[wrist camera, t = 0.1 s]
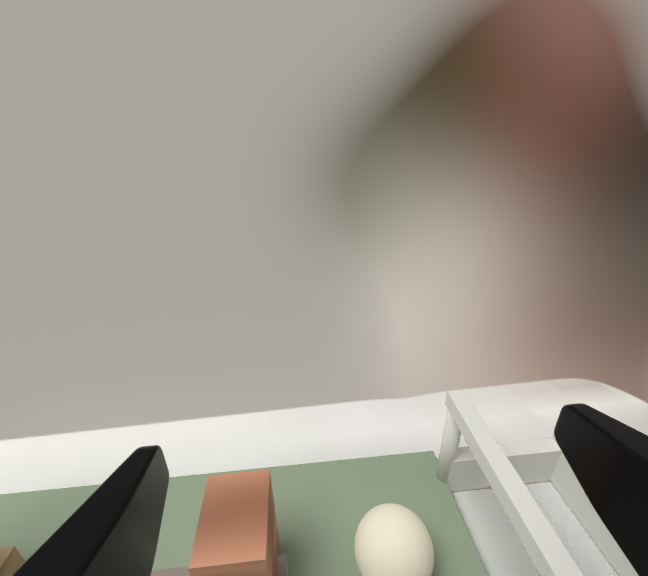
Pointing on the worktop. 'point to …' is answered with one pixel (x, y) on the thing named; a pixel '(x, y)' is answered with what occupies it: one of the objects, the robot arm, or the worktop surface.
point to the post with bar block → (221, 531)
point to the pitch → (366, 504)
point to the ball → (393, 543)
